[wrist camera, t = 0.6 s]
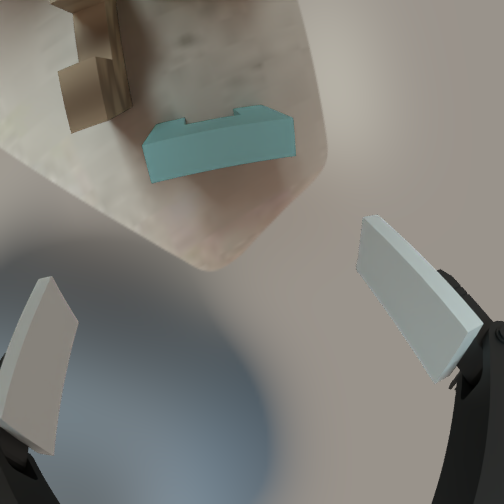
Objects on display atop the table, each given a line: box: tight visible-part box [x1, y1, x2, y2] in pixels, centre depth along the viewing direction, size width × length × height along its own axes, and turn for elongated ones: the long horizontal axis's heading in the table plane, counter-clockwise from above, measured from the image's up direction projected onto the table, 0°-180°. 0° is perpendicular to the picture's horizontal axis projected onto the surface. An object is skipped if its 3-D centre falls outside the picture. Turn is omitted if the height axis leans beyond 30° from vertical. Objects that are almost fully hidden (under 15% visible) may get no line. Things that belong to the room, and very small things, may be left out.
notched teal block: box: [142, 105, 296, 183], centre depth 24 cm, size 11×3×10 cm, turn 96°
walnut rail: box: [50, 0, 133, 134], centre depth 16 cm, size 16×3×10 cm, turn 6°
